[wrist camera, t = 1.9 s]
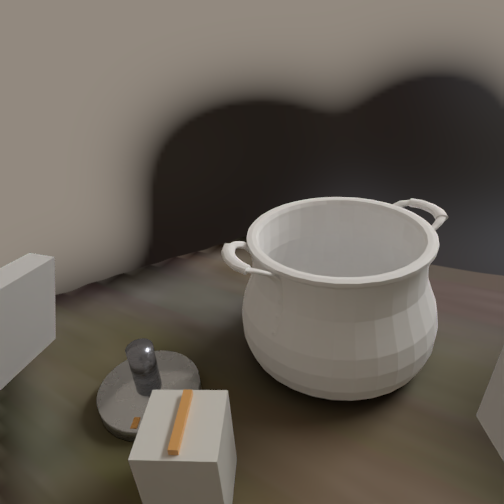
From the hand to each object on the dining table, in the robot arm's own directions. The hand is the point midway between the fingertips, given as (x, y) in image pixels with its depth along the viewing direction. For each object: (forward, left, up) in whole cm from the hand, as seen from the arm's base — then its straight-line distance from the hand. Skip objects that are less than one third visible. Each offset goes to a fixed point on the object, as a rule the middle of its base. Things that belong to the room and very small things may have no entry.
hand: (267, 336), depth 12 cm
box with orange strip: (-10, -13, -31) cm, 35 cm away
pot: (-35, -6, -31) cm, 47 cm away
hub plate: (-18, -24, -31) cm, 43 cm away
